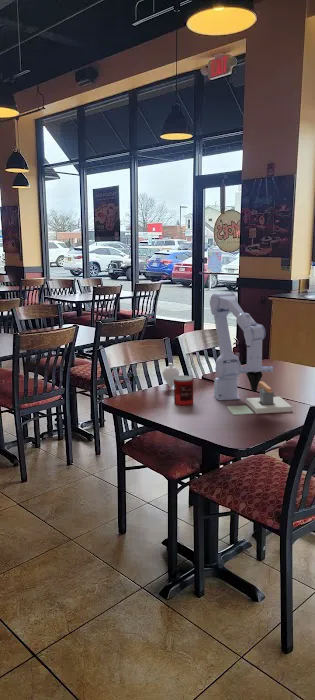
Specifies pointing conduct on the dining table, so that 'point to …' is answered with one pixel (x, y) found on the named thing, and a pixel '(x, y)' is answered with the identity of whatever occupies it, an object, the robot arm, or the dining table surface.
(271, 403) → the gray rectangular block
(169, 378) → the spinning top
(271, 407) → the socket block
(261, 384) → the bar
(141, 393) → the dining table surface
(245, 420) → the dining table surface
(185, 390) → the canned food
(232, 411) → the mat
